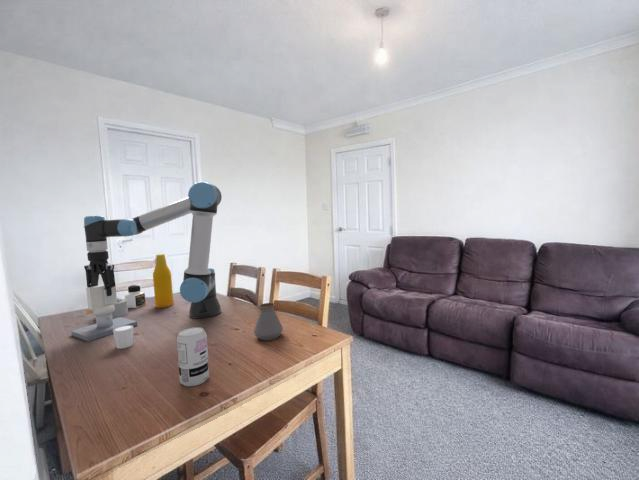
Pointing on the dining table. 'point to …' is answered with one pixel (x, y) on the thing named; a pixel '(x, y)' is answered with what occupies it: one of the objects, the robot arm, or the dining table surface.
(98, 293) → the white round-based slab
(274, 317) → the coffee pot
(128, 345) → the shot glass
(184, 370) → the supplement can
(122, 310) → the lumpy-topped squat cylinder
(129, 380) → the dining table surface
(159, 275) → the beer bottle
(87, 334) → the post plinth
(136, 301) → the medicine bottle
